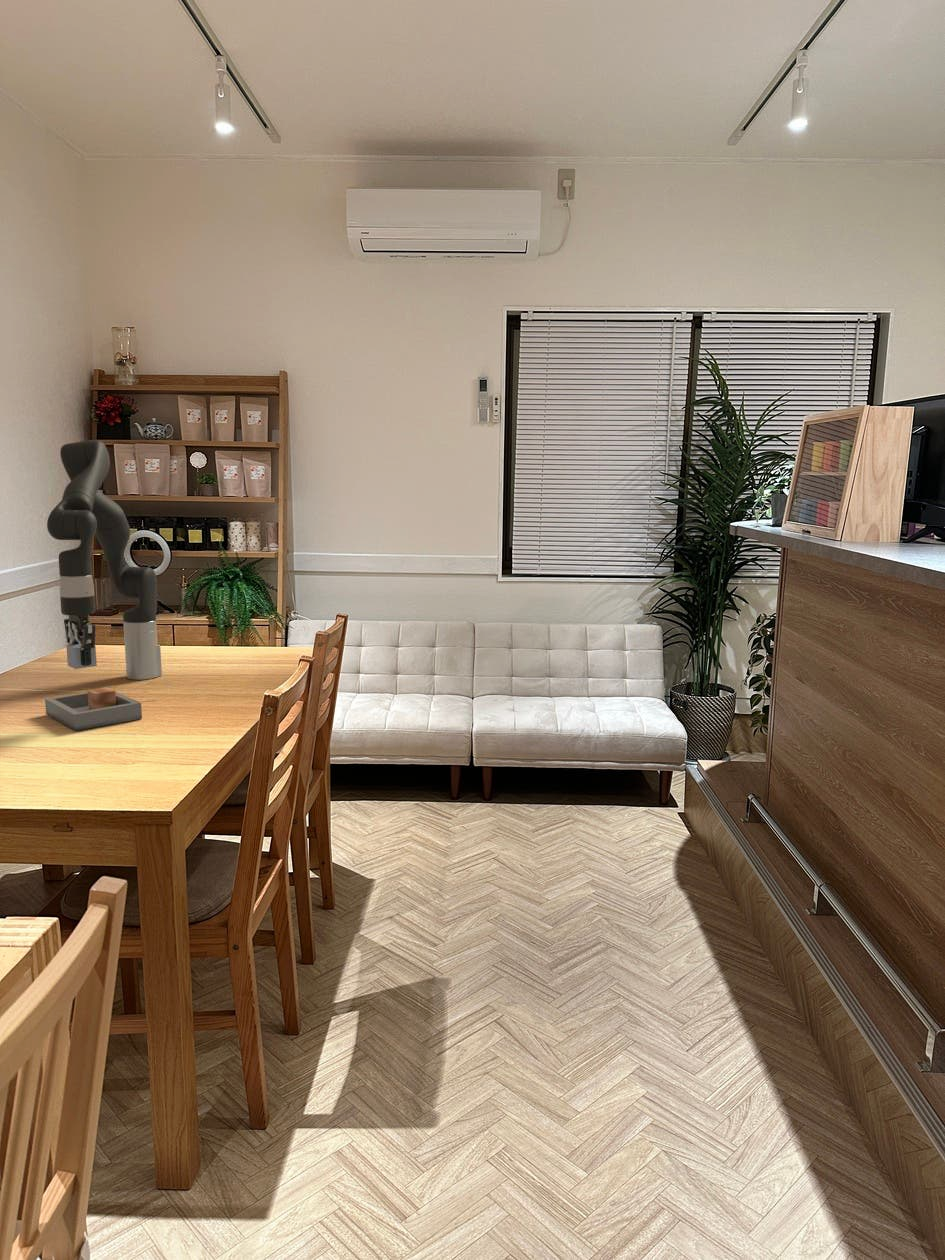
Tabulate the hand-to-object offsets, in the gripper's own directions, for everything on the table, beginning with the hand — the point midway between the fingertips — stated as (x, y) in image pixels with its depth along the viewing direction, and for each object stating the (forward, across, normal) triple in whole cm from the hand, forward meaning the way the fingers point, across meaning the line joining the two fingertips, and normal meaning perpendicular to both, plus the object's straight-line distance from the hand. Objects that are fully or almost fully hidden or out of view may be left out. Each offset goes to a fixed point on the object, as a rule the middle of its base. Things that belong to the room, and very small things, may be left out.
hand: (82, 663), depth 208 cm
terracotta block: (+14, +5, -6) cm, 16 cm away
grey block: (+1, 0, 0) cm, 1 cm away
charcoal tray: (+15, +3, -3) cm, 15 cm away
